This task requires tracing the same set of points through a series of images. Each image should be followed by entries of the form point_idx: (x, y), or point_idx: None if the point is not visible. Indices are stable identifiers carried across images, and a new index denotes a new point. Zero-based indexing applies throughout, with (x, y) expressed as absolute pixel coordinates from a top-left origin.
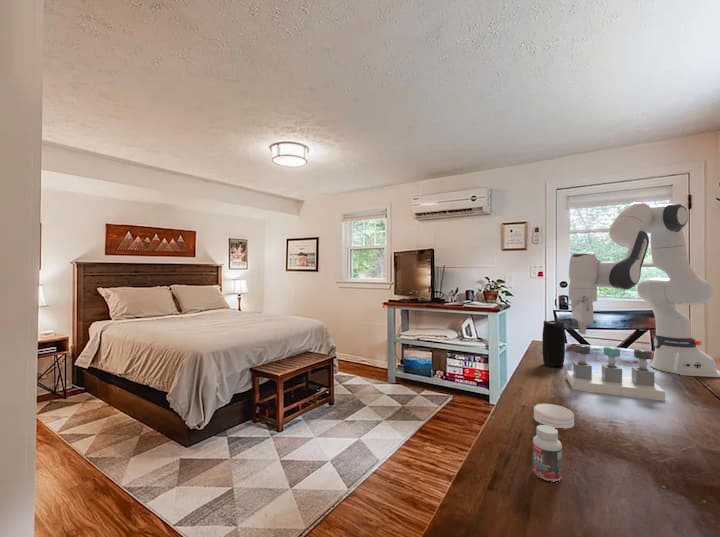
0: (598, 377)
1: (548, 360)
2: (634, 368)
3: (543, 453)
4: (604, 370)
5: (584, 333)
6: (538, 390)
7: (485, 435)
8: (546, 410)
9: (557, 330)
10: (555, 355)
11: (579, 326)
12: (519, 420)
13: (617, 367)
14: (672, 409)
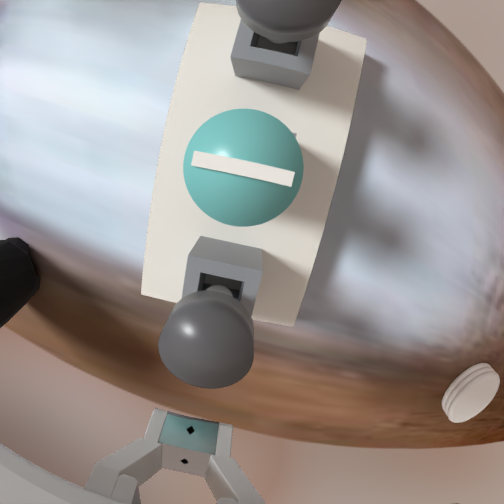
0: None
1: (26, 301)
2: (268, 61)
3: None
4: None
5: (230, 430)
6: (309, 396)
7: (470, 444)
8: (473, 408)
9: None
10: (16, 293)
11: (149, 474)
12: (451, 424)
13: None
14: (426, 86)
